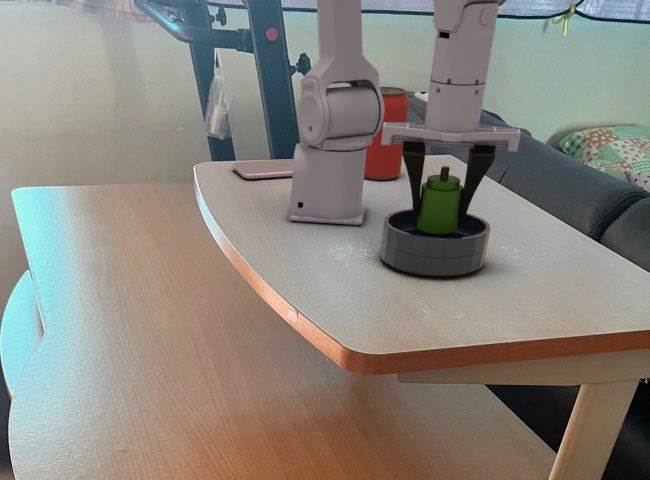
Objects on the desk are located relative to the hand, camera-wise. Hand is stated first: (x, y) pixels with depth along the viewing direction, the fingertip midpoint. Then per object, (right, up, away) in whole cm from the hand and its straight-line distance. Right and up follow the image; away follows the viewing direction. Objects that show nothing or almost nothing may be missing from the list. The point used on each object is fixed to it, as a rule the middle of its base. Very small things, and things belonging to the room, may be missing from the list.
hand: (438, 215), depth 95 cm
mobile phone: (-16, +21, +36) cm, 45 cm away
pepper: (0, -1, +1) cm, 1 cm away
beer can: (-1, +20, +35) cm, 40 cm away
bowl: (0, -4, +3) cm, 5 cm away
